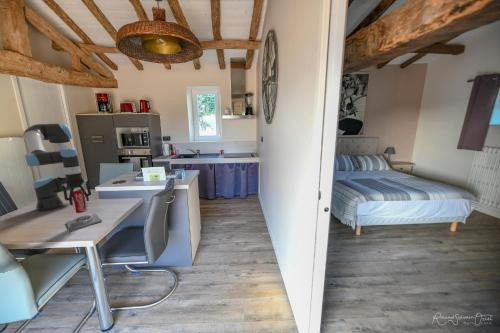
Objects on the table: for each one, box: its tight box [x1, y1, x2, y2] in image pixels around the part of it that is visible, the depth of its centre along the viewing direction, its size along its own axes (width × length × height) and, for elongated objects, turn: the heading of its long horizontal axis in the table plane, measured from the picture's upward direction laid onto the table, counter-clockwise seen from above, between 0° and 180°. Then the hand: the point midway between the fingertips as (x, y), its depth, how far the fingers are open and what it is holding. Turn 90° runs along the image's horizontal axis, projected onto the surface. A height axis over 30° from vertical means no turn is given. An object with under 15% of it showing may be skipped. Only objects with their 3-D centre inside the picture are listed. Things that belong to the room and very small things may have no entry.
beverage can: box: [72, 188, 88, 214], centre depth 130 cm, size 6×6×15 cm
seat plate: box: [65, 213, 103, 232], centre depth 133 cm, size 16×16×1 cm
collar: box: [72, 214, 94, 225], centre depth 133 cm, size 10×10×2 cm
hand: (80, 207), depth 131 cm, fingers closed on beverage can, 6 cm apart
